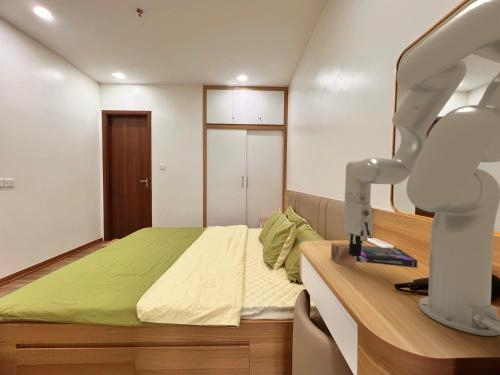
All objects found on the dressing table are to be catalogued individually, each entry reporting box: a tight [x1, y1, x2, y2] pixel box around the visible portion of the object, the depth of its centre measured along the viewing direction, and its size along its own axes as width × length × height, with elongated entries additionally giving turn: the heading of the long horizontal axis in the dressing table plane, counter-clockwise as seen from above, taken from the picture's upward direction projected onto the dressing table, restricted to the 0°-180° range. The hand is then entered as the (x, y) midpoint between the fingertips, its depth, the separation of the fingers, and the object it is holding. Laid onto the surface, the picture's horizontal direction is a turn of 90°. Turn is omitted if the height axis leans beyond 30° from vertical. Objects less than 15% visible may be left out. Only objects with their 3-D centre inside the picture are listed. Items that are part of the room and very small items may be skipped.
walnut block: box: [330, 242, 357, 266], centre depth 80 cm, size 6×6×6 cm
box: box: [356, 245, 418, 268], centre depth 86 cm, size 14×4×20 cm
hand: (354, 255), depth 73 cm, fingers closed
